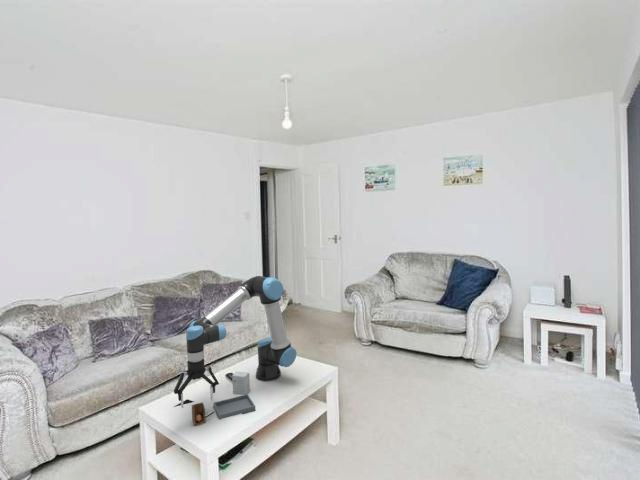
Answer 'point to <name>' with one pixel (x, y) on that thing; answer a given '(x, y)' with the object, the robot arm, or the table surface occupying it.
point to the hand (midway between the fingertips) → (197, 403)
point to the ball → (198, 418)
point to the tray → (234, 406)
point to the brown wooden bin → (198, 413)
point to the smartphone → (185, 402)
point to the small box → (241, 383)
